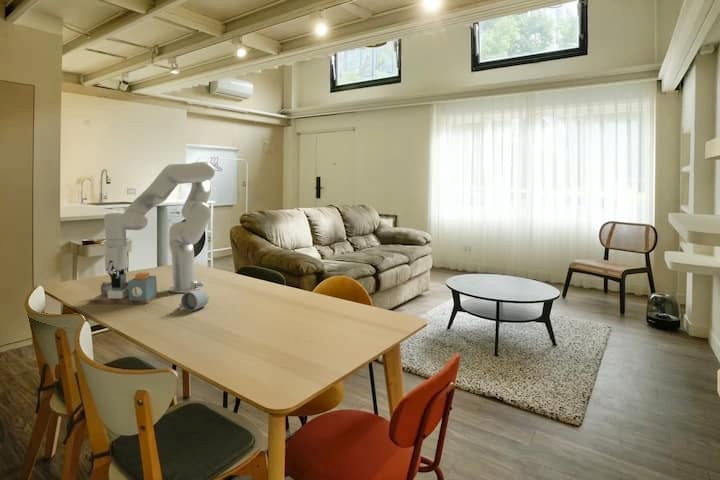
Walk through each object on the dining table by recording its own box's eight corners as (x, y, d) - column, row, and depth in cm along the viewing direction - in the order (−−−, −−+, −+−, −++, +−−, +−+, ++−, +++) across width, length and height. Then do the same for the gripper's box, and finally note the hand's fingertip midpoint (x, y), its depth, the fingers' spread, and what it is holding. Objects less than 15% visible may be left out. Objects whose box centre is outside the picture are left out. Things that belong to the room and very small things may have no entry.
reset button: (149, 279, 181) (149, 272, 180) (145, 281, 177) (144, 274, 176) (139, 279, 180) (139, 272, 180) (135, 281, 176) (135, 274, 176)
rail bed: (157, 297, 185) (156, 282, 184) (146, 303, 175) (145, 287, 174) (102, 297, 184) (101, 281, 183) (89, 303, 174) (88, 287, 173)
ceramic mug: (210, 306, 172) (209, 288, 171) (197, 312, 164) (196, 293, 163) (188, 304, 175) (187, 286, 174) (174, 310, 167) (173, 291, 166)
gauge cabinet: (157, 293, 185) (156, 275, 183) (145, 300, 174) (144, 281, 173) (140, 293, 184) (139, 275, 183) (128, 300, 174) (127, 281, 173)
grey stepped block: (131, 294, 183) (129, 273, 181) (122, 298, 176) (121, 277, 174) (116, 294, 182) (115, 273, 181) (107, 298, 175) (106, 277, 174)
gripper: (117, 240, 184) (120, 281, 187) (95, 245, 167) (98, 291, 170) (135, 240, 184) (137, 281, 187) (114, 246, 168) (117, 291, 170)
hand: (119, 285), depth 178 cm, fingers closed on grey stepped block, 4 cm apart
